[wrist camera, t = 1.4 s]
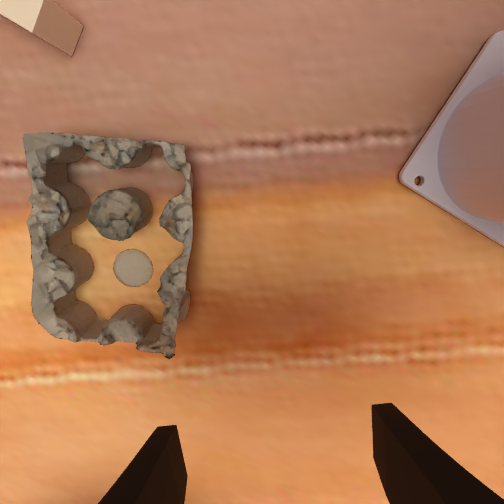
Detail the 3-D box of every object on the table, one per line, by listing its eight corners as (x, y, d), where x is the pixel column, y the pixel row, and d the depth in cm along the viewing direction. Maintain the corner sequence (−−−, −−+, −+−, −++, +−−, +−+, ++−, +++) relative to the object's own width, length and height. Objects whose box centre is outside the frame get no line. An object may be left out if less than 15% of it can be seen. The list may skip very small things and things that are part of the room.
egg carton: (191, 330, 20) (176, 370, 16) (67, 315, 20) (21, 353, 16) (207, 148, 17) (194, 144, 13) (63, 129, 17) (7, 119, 13)
